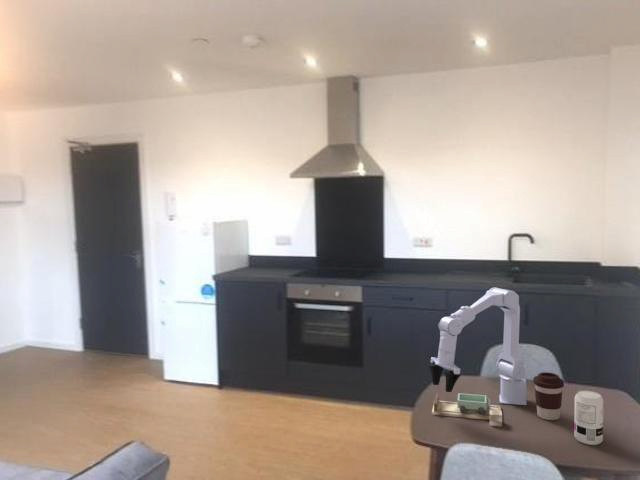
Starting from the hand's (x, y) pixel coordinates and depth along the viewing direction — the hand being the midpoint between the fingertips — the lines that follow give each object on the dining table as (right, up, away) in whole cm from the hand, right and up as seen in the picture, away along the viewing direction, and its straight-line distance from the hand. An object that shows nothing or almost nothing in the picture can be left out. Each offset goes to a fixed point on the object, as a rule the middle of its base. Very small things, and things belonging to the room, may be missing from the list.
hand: (442, 388), depth 187 cm
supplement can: (+42, -11, -20) cm, 48 cm away
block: (+17, -11, -6) cm, 21 cm away
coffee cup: (+37, -10, -2) cm, 39 cm away
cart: (+13, -8, +4) cm, 16 cm away
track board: (+10, -10, +5) cm, 15 cm away
